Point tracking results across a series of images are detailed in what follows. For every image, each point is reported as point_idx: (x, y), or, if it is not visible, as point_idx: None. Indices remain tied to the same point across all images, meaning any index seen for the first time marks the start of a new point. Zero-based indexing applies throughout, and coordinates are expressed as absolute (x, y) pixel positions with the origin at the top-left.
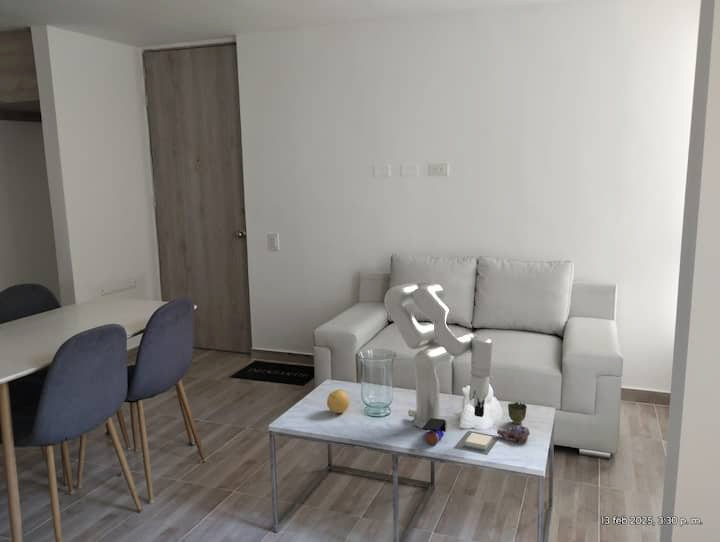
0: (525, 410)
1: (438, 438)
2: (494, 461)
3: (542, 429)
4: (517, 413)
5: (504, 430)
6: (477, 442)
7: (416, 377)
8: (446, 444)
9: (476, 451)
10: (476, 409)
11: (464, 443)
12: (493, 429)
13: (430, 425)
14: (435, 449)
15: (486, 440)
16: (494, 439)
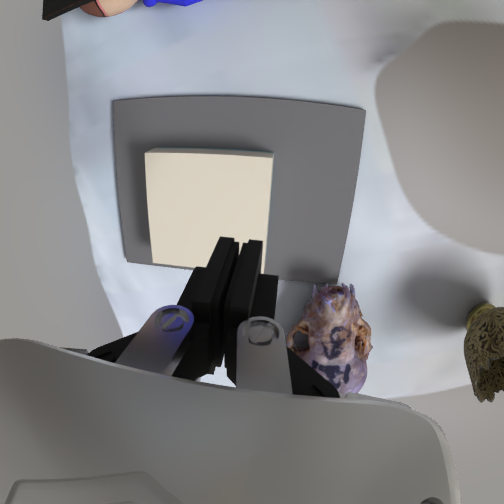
0: (481, 391)
1: (112, 12)
2: (109, 289)
3: (431, 385)
4: (470, 367)
5: (326, 329)
6: (160, 218)
7: None
8: (148, 48)
9: (130, 214)
10: (182, 300)
11: (183, 133)
12: (422, 237)
13: None
14: (83, 34)
15: (205, 256)
16: (295, 266)
